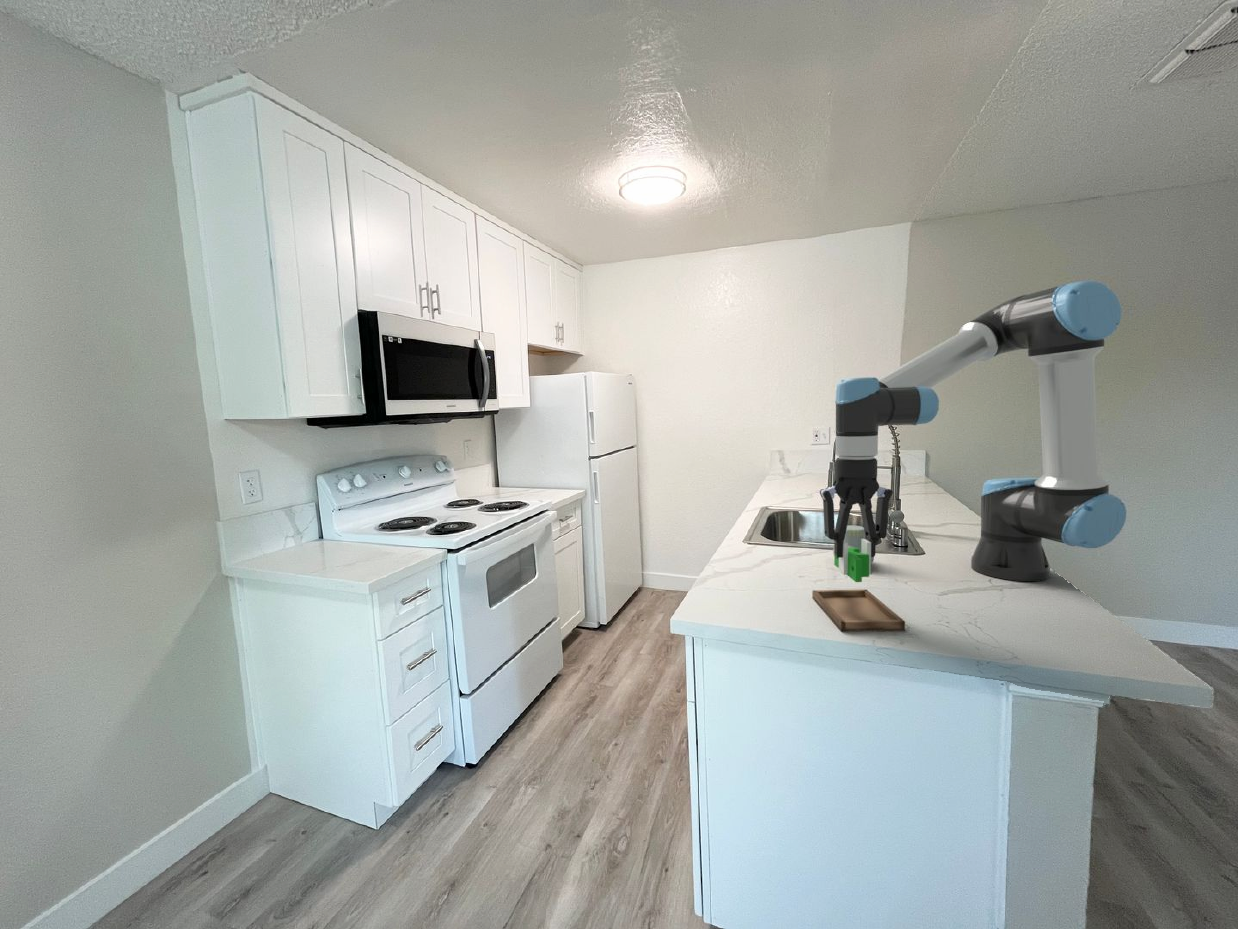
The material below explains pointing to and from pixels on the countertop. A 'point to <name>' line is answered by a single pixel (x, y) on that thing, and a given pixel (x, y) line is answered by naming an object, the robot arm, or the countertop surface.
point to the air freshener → (854, 537)
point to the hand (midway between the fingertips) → (854, 572)
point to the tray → (857, 611)
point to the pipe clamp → (856, 564)
